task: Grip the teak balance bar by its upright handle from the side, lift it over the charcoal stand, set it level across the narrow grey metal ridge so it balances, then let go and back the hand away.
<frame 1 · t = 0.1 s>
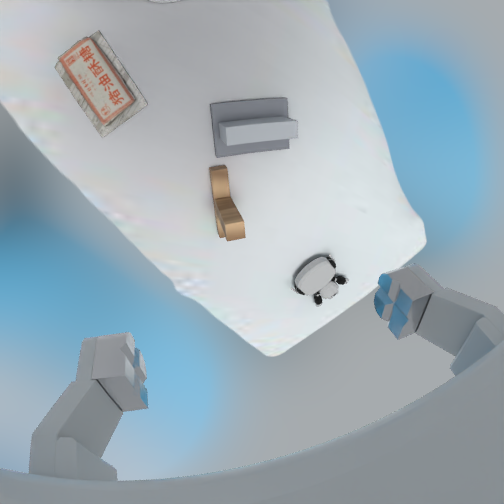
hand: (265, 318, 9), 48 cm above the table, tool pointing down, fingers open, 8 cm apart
ridge stand: (250, 125, 51), on the table
balance bar: (221, 200, 58), on the table
robot toy: (316, 275, 76), on the table
packaged product: (100, 83, 40), on the table
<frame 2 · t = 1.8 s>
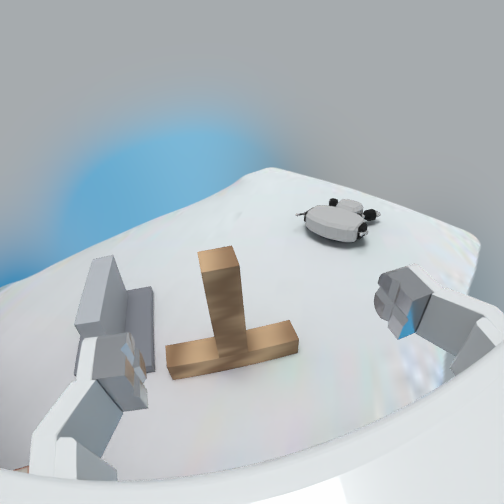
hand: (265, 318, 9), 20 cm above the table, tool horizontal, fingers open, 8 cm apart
ridge stand: (117, 332, 35), on the table
balance bar: (233, 357, 32), on the table
robot toy: (340, 229, 54), on the table
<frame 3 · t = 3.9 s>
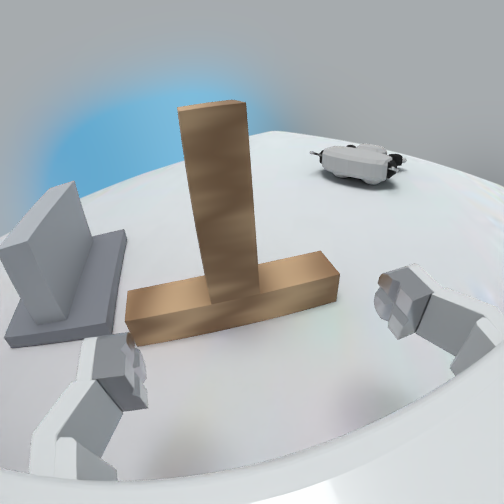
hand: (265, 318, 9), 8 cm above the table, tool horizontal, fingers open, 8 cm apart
ridge stand: (72, 286, 24), on the table
balance bar: (234, 311, 20), on the table
robot toy: (363, 175, 43), on the table
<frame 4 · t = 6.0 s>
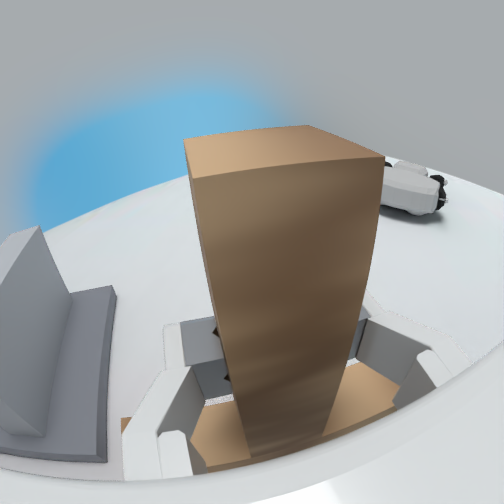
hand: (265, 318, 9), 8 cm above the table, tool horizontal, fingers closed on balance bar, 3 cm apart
ridge stand: (49, 370, 16), on the table
balance bar: (276, 438, 13), on the table, touching gripper
robot toy: (402, 201, 35), on the table
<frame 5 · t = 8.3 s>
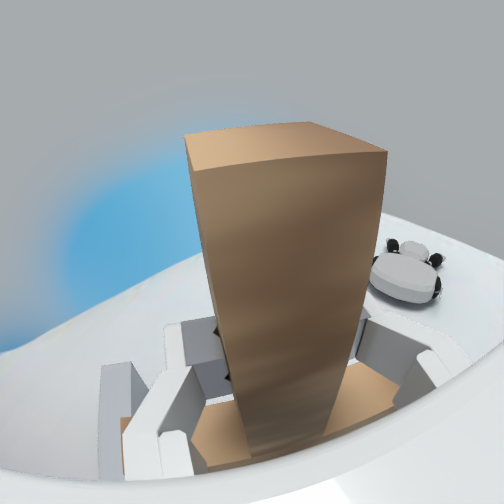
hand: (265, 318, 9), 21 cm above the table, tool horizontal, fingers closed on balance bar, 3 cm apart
ridge stand: (149, 454, 23), on the table
balance bar: (276, 438, 13), point 13 cm above the table, touching gripper
robot toy: (405, 280, 42), on the table
when the fingers open (17 cm above the table, at t = 10.5 s): balance bar stays where it is, resting on ridge stand.
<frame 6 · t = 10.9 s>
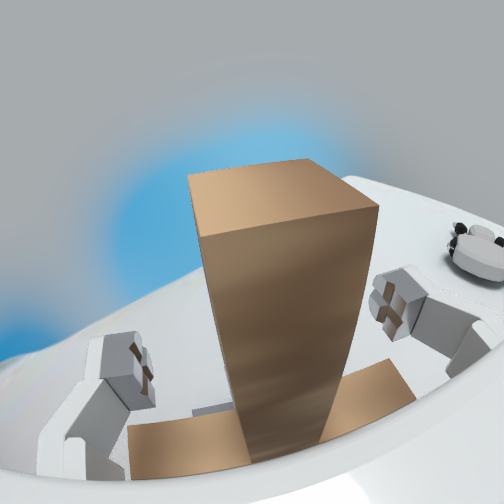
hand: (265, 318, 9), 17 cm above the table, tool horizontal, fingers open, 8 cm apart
ridge stand: (275, 474, 17), on the table
balance bar: (275, 443, 13), point 8 cm above the table, touching ridge stand
robot toy: (476, 262, 37), on the table
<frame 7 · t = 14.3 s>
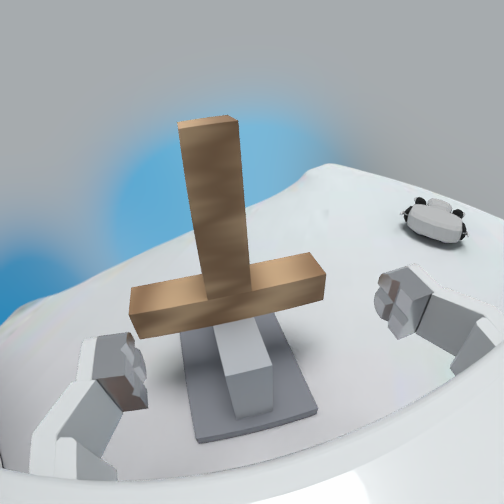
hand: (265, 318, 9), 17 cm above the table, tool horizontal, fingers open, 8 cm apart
ridge stand: (239, 367, 27), on the table
balance bar: (229, 307, 22), point 8 cm above the table, touching ridge stand
robot toy: (434, 230, 46), on the table
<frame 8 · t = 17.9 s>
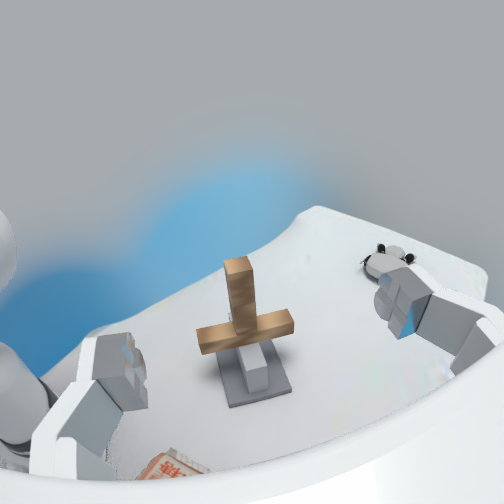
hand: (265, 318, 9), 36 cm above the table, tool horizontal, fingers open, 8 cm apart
ridge stand: (249, 366, 48), on the table
balance bar: (246, 337, 44), point 8 cm above the table, touching ridge stand
robot toy: (388, 270, 68), on the table
packaged product: (206, 503, 28), on the table
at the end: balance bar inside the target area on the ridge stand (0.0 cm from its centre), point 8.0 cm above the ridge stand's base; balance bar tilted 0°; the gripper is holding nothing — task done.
